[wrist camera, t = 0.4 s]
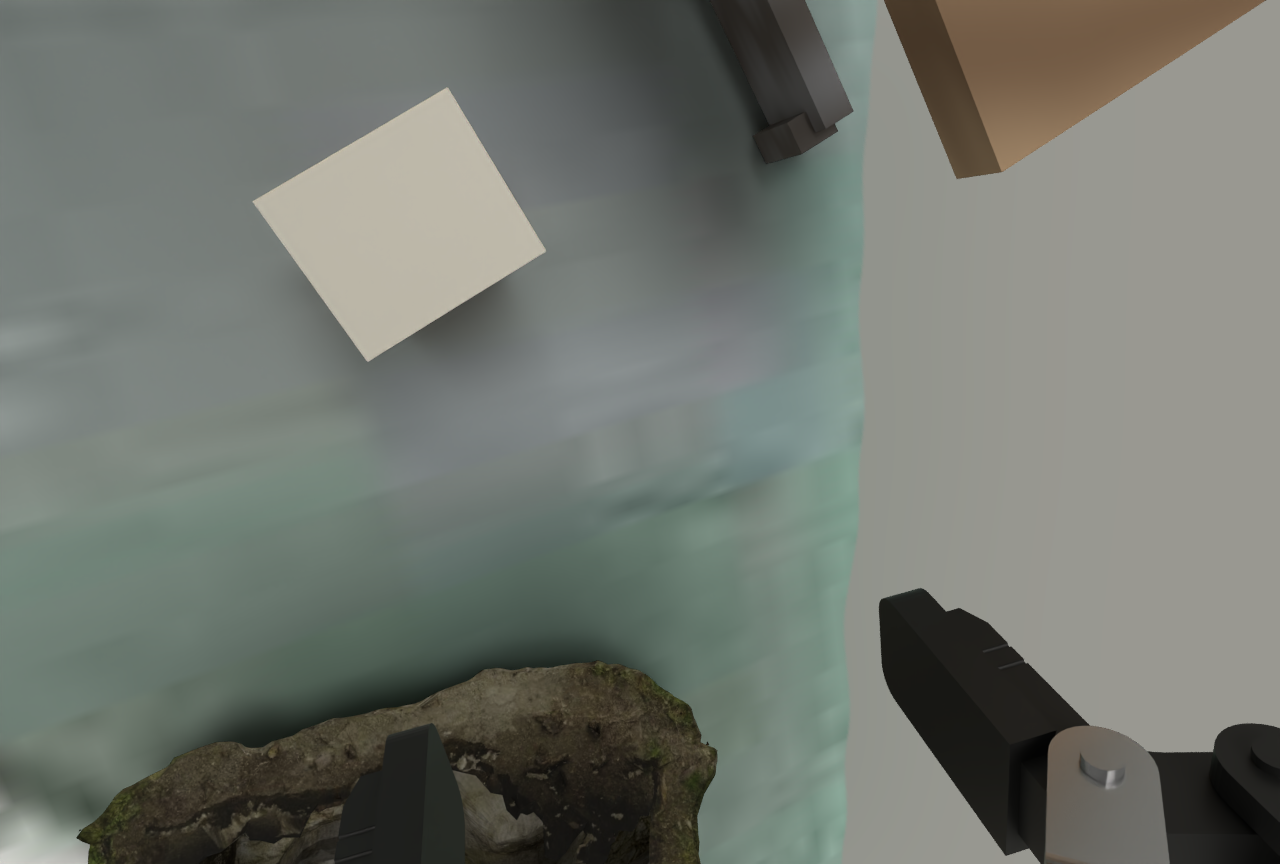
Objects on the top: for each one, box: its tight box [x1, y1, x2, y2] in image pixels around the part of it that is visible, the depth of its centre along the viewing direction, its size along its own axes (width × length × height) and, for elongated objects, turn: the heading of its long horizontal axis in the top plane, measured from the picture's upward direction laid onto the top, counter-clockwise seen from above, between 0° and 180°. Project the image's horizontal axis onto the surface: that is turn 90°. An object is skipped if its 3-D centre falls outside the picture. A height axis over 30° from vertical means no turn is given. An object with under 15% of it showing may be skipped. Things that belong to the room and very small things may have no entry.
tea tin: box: [252, 87, 546, 362], centre depth 29 cm, size 5×6×14 cm
